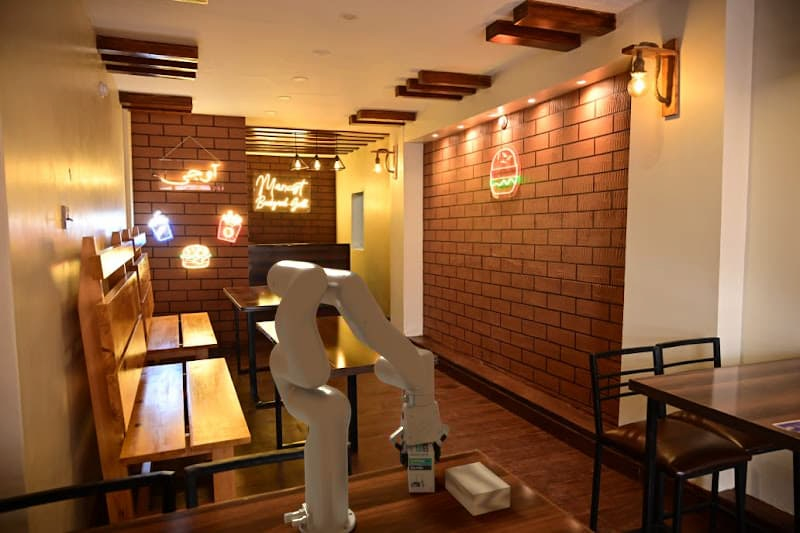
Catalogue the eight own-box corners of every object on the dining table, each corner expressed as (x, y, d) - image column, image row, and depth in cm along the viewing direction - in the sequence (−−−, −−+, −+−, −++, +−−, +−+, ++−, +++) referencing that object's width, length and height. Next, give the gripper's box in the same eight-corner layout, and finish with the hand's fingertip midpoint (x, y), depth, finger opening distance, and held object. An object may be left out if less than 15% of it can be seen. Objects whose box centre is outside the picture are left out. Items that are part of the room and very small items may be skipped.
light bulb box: (435, 493, 131) (435, 451, 130) (408, 493, 131) (408, 451, 130) (431, 472, 142) (431, 434, 141) (407, 473, 142) (407, 434, 141)
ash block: (473, 515, 121) (473, 495, 120) (445, 487, 134) (445, 468, 133) (509, 506, 124) (510, 486, 124) (479, 480, 137) (479, 461, 137)
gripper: (393, 407, 128) (395, 475, 129) (456, 397, 134) (456, 462, 136) (383, 398, 135) (384, 463, 136) (443, 389, 141) (443, 450, 143)
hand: (420, 462), depth 136 cm, fingers closed on light bulb box, 8 cm apart
